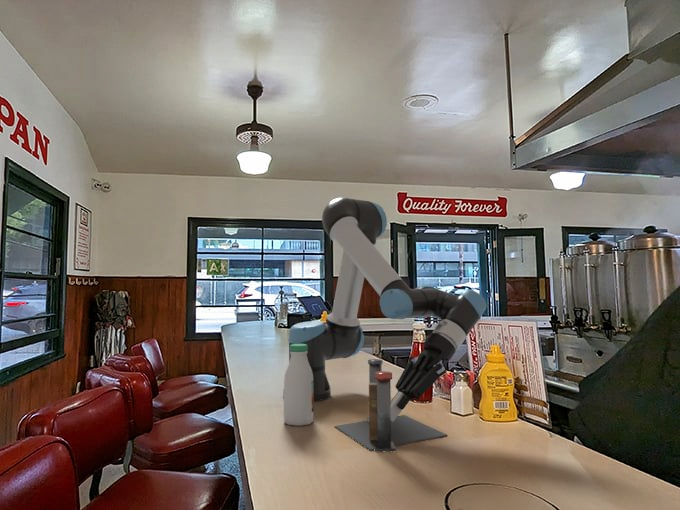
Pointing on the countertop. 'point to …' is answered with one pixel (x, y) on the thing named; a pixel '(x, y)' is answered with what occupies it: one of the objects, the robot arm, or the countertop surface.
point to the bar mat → (392, 431)
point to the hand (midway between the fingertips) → (387, 417)
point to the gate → (372, 411)
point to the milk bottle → (298, 388)
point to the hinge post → (374, 366)
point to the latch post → (383, 412)
